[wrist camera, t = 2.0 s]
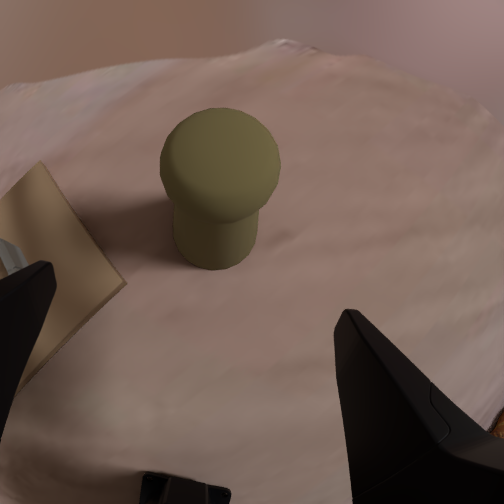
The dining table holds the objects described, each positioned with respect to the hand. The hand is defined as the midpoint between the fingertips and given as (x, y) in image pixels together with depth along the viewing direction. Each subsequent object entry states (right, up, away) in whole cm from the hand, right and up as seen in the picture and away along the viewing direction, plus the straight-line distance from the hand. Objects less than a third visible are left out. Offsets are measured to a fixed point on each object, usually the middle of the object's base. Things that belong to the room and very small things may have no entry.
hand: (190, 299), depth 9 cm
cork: (-1, +3, +13) cm, 14 cm away
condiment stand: (-18, -3, +9) cm, 21 cm away
